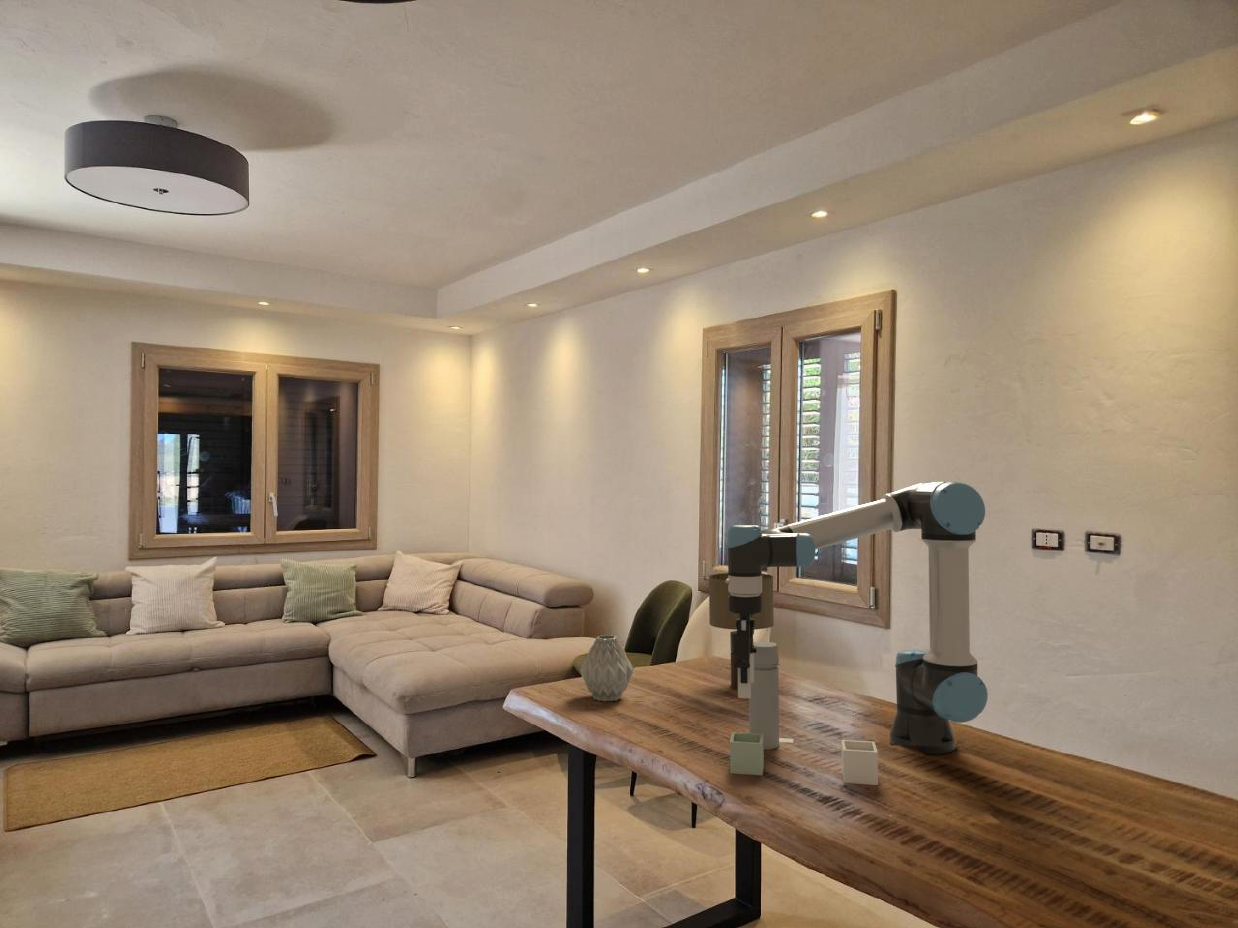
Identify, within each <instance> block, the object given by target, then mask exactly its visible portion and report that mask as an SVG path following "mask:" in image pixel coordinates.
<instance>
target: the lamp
mask: <svg viewBox="0 0 1238 928" xmlns="http://www.w3.org/2000/svg"><path fill="white" fill-rule="evenodd" d="M726 579H729V578H728V572H721V573H712V574H709V575H708V588H709V589H708V606H709V607H708V609H709V611H708V612H709V613H708V614H709V618H708V619H709V625H710V626H712V627H713V628H717V629H718V628H719V629H725V630H733V631H730V635H729V637H730V639H729V641H730V687H731V688H732V689H734V690H735V689H736V690H738V668H735V667H734V663H736V664H737V657H738V639H737V629H736V621H737V619H739V617H740V614H738V613H732V612H730V611H729V609H728V596H729V595H731V593H729V591H728V585H729V583H726V582H725V581H726ZM760 595H761V597H762V611H761V612H760V613H757V614H753V615H752V620H755V627H754V631H755V630H763V629H764V630H765V629H768V628H771V627H774V625H775V624H774V623H775V621H774V618H775V617H774V576H773V575H771V574H766V573H762V593H761V594H760Z"/></svg>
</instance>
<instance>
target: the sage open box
mask: <svg viewBox="0 0 1238 928" xmlns="http://www.w3.org/2000/svg"><path fill="white" fill-rule="evenodd" d="M764 754H765V753H764V738H763V734H756V733H749V732H735V731H734V732H733V731H732V732H731V736H730V740H729V761H730V762H729V763H730V764H729V769H730V770H729V773H730V774H734V775H735V774H737V775H751V776H764V775H763V774H764V767H765V766H764V765H765V764H764V763H765V760H764V759H765V757H764V756H765V755H764Z"/></svg>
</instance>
